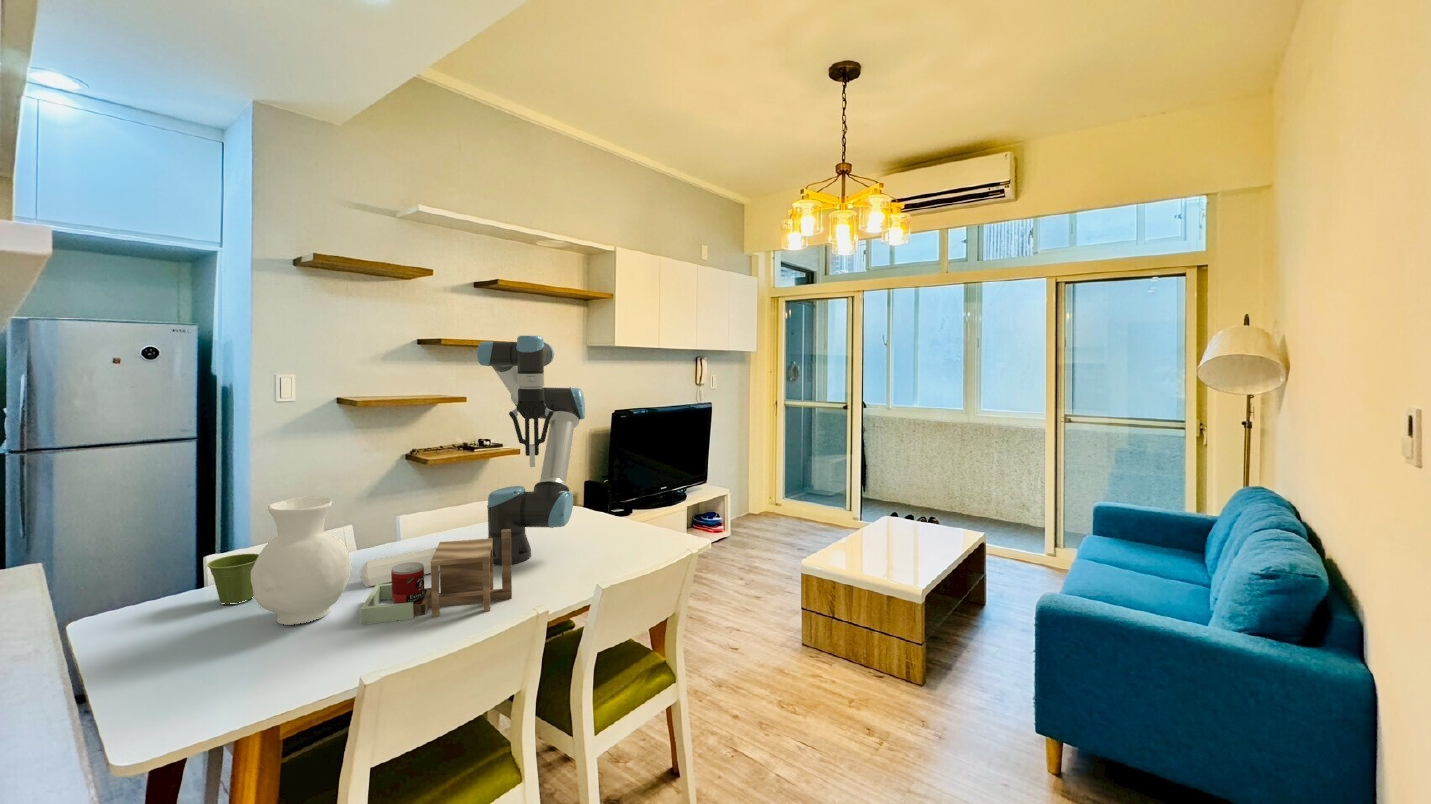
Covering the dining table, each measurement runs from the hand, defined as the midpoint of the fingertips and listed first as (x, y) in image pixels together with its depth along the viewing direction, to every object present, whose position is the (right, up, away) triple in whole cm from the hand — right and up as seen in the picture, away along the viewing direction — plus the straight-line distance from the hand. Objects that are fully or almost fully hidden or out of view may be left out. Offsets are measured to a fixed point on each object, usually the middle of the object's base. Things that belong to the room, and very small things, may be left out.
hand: (532, 466), depth 182 cm
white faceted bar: (-39, -34, +2) cm, 52 cm away
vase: (-50, -36, -27) cm, 67 cm away
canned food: (-27, -36, -19) cm, 49 cm away
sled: (-17, -35, -17) cm, 42 cm away
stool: (-14, -35, -16) cm, 41 cm away
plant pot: (-75, -35, -17) cm, 85 cm away
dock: (-30, -36, -21) cm, 51 cm away
